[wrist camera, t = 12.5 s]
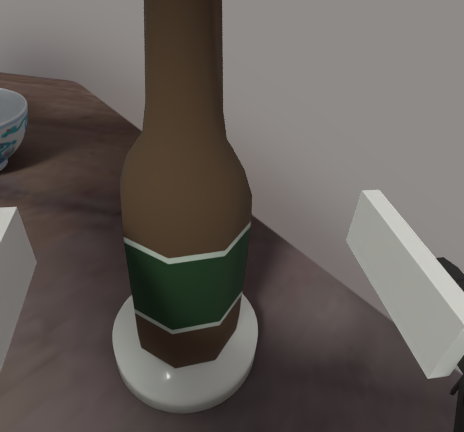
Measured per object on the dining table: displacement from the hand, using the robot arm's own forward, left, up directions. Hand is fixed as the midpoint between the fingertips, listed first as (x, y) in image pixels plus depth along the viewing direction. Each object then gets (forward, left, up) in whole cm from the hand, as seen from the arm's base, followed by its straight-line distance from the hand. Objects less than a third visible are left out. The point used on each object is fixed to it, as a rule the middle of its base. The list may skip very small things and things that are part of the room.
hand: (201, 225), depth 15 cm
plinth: (-6, +3, -18) cm, 19 cm away
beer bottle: (-6, +3, -15) cm, 17 cm away
